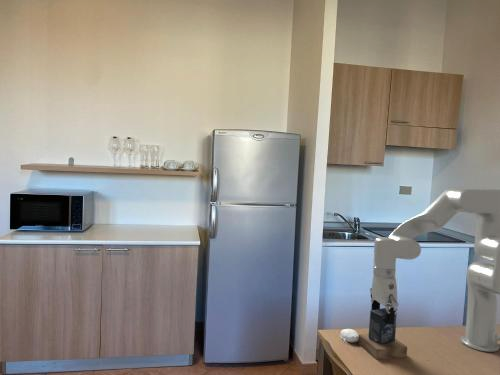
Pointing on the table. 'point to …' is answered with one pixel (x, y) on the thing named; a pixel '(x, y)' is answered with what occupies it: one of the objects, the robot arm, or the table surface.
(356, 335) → the garlic
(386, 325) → the box
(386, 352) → the walnut block
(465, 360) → the table surface
